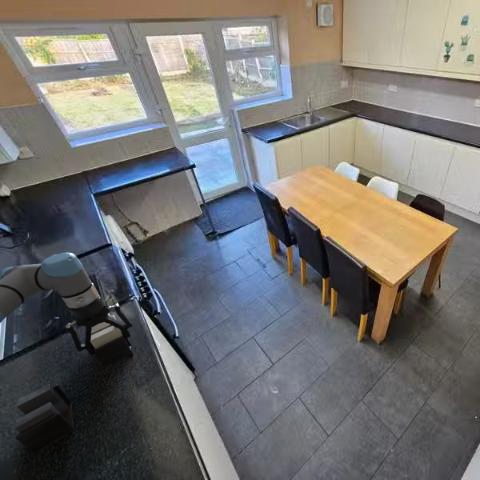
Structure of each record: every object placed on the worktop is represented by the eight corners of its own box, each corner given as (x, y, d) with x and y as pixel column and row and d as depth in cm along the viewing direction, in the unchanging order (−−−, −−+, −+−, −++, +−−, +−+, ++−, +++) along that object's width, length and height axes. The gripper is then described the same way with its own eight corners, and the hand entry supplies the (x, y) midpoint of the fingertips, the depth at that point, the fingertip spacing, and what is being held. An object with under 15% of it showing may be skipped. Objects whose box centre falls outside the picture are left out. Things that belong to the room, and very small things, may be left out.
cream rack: (101, 348, 96) (85, 325, 91) (126, 336, 101) (113, 312, 95) (106, 368, 89) (89, 344, 83) (133, 354, 94) (119, 330, 88)
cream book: (103, 358, 92) (88, 336, 86) (129, 345, 96) (116, 323, 91) (104, 363, 90) (89, 340, 85) (130, 349, 94) (118, 327, 89)
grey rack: (36, 421, 76) (13, 399, 70) (72, 401, 80) (53, 379, 75) (36, 455, 68) (9, 433, 63) (75, 431, 73) (54, 409, 68)
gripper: (38, 326, 73) (79, 377, 84) (125, 290, 84) (151, 340, 96) (38, 311, 77) (77, 362, 89) (121, 280, 89) (145, 328, 101)
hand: (115, 350), depth 92 cm, fingers closed on cream book, 8 cm apart
